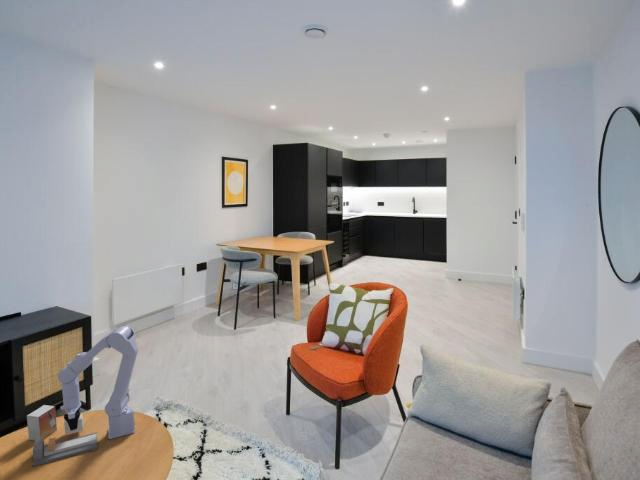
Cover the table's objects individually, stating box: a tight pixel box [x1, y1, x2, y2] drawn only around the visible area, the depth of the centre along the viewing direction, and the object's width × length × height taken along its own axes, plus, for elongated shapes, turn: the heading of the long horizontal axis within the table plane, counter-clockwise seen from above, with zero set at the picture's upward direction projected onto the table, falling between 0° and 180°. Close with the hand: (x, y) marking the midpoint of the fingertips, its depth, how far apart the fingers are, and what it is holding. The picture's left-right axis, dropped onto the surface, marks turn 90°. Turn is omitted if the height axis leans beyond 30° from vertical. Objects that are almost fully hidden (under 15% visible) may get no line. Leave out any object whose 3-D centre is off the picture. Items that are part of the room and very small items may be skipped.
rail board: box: [32, 431, 98, 467], centre depth 151 cm, size 20×10×5 cm, turn 119°
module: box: [63, 412, 84, 435], centre depth 160 cm, size 6×4×5 cm
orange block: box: [47, 437, 57, 451], centre depth 148 cm, size 2×4×2 cm, turn 29°
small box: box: [26, 404, 58, 442], centre depth 159 cm, size 8×6×10 cm
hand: (74, 426), depth 160 cm, fingers closed on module, 4 cm apart
